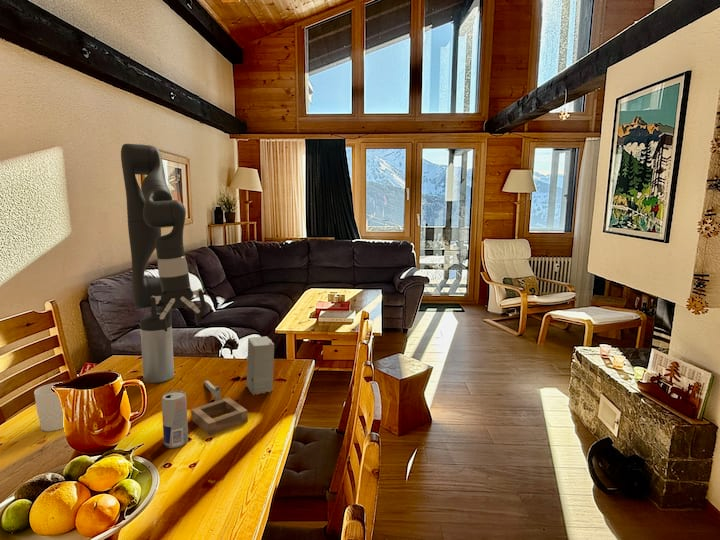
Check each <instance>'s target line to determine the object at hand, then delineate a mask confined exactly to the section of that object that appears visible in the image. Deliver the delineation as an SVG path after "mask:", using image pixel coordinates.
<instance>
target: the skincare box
mask: <svg viewBox="0 0 720 540" xmlns="http://www.w3.org/2000/svg"><path fill="white" fill-rule="evenodd" d="M274 359H275V343H274V342H273V341H272V339H270V338H269V336H267V335H266V336H253V337H252V336H251V337H248V338H247V360H246V363H247V365H246V366H247V367H246V368H247V369H246V387H247V388H248V390H249V391H250V393H251V395H252V396H255V394H256V395H261V394H260V393H262V394H266V393H265V392H269V393H271V392H270V391H272V392H273V387H274V386H273V385H274V366H275V365H274V363H275V360H274Z"/></svg>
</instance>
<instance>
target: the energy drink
mask: <svg viewBox="0 0 720 540" xmlns="http://www.w3.org/2000/svg"><path fill="white" fill-rule="evenodd" d="M187 403H188V402H187V396H186V392H185V391H182V390H173V391H168V392H166V393H164V394H163V395H162V398H161V411H162V412H161V413H162V418H161V419H162V430H163V445H164V446H165V448H168V449H177V448H181V447H183V446H185V445H186V444H187V443H188V441H189V426H188V425H189V423H188V405H187Z"/></svg>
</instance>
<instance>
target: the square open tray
mask: <svg viewBox="0 0 720 540" xmlns="http://www.w3.org/2000/svg"><path fill="white" fill-rule="evenodd" d="M225 412H226V414H224V415H220V416H217V415H219V414H223V413H225ZM248 413H249V412H248V409H246V408H245V407H243V406H242V405H241V404H239V403H238V402H236V401H234V400H233V399H232V398H231V397H225V398H221V400H218V401H215V400H214V401H213V402H209V403H205V404H202V405H200V406H196V407H194V408H191V409H190V415H191V421H192V422H193V423H195V425H197V426H198V427H199V428H200V429H202V430H203V431H204V432H205V433H206V434H207V435H208V436H212V435H214V434H217V433H219V432H222V431H224V430H227V429H231V428H234V427H235V426H238V425H240V424H243V423H247V422H248V421H249V415H248ZM213 416H217V417H215V418H212V417H213Z"/></svg>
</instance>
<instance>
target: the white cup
mask: <svg viewBox="0 0 720 540" xmlns="http://www.w3.org/2000/svg"><path fill="white" fill-rule="evenodd" d="M63 382H64V381H59V382H51V383H48V384H45V385H42V386H39V387H38V388H36V389H35V390H34V391H33V393H34V400H35V406H36V413H37V418H38V420H39V427H40V430H41V431H43V430H44V431H43V432H54V431H53V430H56V431H60V430H62V429H64V428H63V411H62V407H61V404H60V401H59V398H58V396H57V394H56V393H55V392H53V391H52V390H51V386H53V385H55V384H59V383H63ZM59 429H60V430H59Z"/></svg>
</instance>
